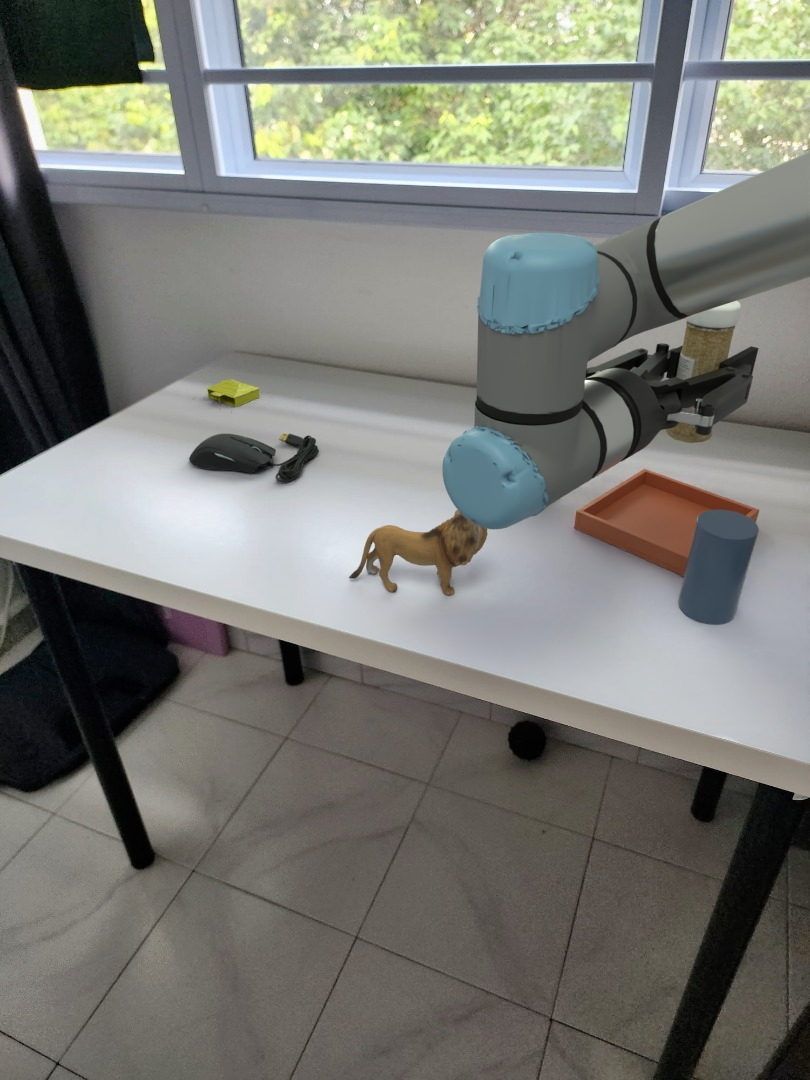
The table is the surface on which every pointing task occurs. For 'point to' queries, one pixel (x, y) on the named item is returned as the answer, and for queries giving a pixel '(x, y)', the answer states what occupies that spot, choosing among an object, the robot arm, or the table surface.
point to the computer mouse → (251, 454)
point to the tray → (653, 517)
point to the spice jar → (704, 353)
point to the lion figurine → (424, 549)
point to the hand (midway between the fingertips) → (726, 355)
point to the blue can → (717, 566)
